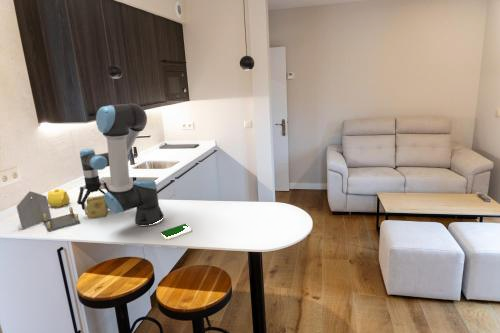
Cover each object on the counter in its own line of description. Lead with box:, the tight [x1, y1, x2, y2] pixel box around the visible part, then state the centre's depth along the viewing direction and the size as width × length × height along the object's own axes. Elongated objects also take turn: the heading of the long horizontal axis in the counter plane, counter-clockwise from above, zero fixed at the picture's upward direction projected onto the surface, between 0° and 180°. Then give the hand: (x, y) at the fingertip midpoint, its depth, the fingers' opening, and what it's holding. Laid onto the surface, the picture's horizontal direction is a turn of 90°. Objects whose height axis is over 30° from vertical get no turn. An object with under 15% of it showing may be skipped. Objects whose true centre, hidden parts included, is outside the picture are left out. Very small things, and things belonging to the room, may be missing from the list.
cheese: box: [85, 194, 109, 220], centre depth 199 cm, size 10×11×10 cm
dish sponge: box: [160, 223, 189, 237], centre depth 170 cm, size 7×14×2 cm, turn 128°
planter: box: [16, 190, 52, 231], centre depth 190 cm, size 16×8×19 cm, turn 152°
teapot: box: [47, 188, 71, 209], centre depth 217 cm, size 18×11×11 cm, turn 64°
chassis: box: [42, 206, 81, 233], centre depth 190 cm, size 16×16×5 cm
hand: (97, 211), depth 200 cm, fingers closed on cheese, 12 cm apart
